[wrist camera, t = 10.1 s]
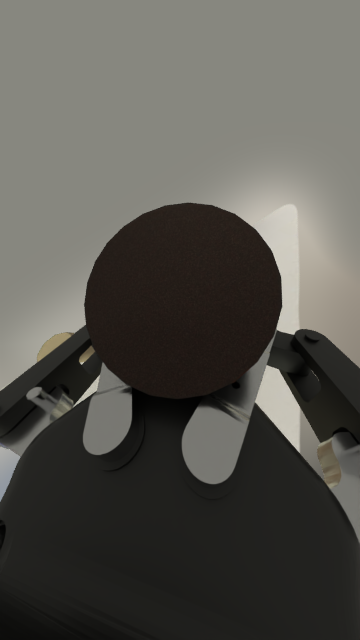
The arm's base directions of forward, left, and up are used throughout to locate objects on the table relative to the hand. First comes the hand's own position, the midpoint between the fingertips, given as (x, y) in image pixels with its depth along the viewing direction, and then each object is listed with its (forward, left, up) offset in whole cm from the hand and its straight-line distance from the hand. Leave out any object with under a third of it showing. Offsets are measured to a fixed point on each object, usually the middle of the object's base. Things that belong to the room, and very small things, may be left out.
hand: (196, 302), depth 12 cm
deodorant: (0, -2, -7) cm, 8 cm away
